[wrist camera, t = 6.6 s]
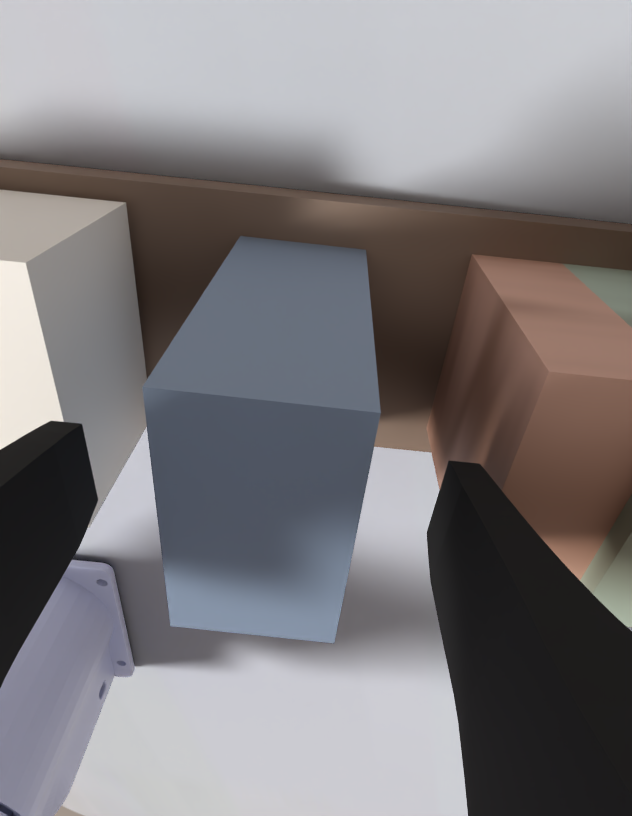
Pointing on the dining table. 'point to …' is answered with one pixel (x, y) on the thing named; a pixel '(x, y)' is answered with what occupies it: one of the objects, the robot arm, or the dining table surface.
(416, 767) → the dining table surface
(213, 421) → the tall grey-blue block
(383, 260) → the rack
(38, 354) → the bookend
